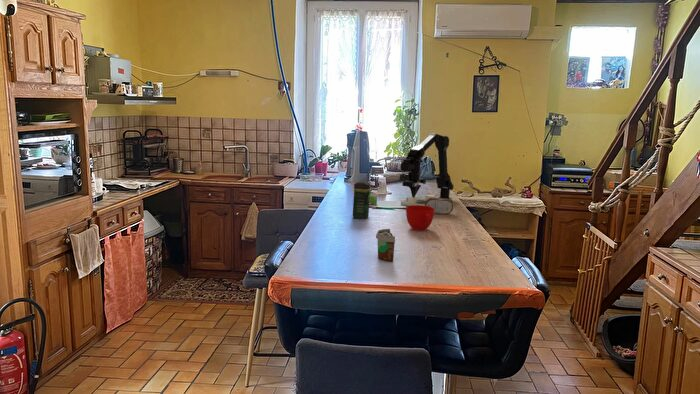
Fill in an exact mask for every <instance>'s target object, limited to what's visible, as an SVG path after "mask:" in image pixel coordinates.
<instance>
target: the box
mask: <svg viewBox="0 0 700 394" xmlns="http://www.w3.org/2000/svg"><path fill="white" fill-rule="evenodd" d="M417 202H418V203H417ZM420 203H421V204H420ZM420 203H419V201H416V203H412V202H408V199H407V198H406V199H404V200H401V201H400V205H401V204H402V205H401V206H405V205H407V206H412V205H421V206H425V203H426V202H423V203H422V202H420ZM407 206H406V207H407Z"/></svg>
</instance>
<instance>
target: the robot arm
mask: <svg viewBox="0 0 700 394" xmlns="http://www.w3.org/2000/svg"><path fill="white" fill-rule="evenodd" d="M433 144H434V146H435V147H436V149H437V151H438V153H437V154H438V156H437V157H438V172H439V173H438V175H437V176H435V180H436V181H435V183H436V187H437V189H440V191H439V197H437V198H445V199H449V200H452V197H450V192H451V191H452V190H454V184H453V183H452V179H451V176H450V174H449V173H448V153H447V152H448V151H447V150H448V148H449V147H450V138H449V136H447V135H440V134H438V133H433V132H431V133H429V135H428V137H426V138H425V139H424V140H423V141H422V142H421V143H419V145H415V146H414V147H412V148H410V149H409V151H408V153H407V156H406V157H405V158H404V159H403V161H402V162H401V163H400V169H401V171H402V172H407V174H404V173H401V174H400V175H399V180H400V181H401V182H402V184H401V186H403V187H408V188H409V189H410V192H411V196H412V197H416V195H417V194H418V192H419V190H420V188H421V187H422V185H421V184H423V185H426V184H427V180H426V179H425V178H420V177H421V175H422V171H421V163H424V161H423V160H422V158H423V157H424V156H425V154H426V153H425V152H426V151H427V150H428V149H429V148H430V147H431V146H433Z"/></svg>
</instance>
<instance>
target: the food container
mask: <svg viewBox="0 0 700 394" xmlns="http://www.w3.org/2000/svg"><path fill="white" fill-rule="evenodd" d="M375 238H376V240H377V259H378V260H380V261H382V262H387V263H393V262H394V258H395V257H394V254H395V243H396V236H394V235H393V233H392V232H391V228H383V229H379V230H377V232H376V236H375Z"/></svg>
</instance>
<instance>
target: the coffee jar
mask: <svg viewBox="0 0 700 394" xmlns="http://www.w3.org/2000/svg"><path fill="white" fill-rule="evenodd" d="M370 192H371V183H370V182H369V181H368V180H359V181H356V182H355V183H353V199H352V201H353V203H352V218H353V219H354V218H355V219H358V220H361V219H364V220H365V219H367V218H368V217H369V215H370V204H369V198H370Z"/></svg>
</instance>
